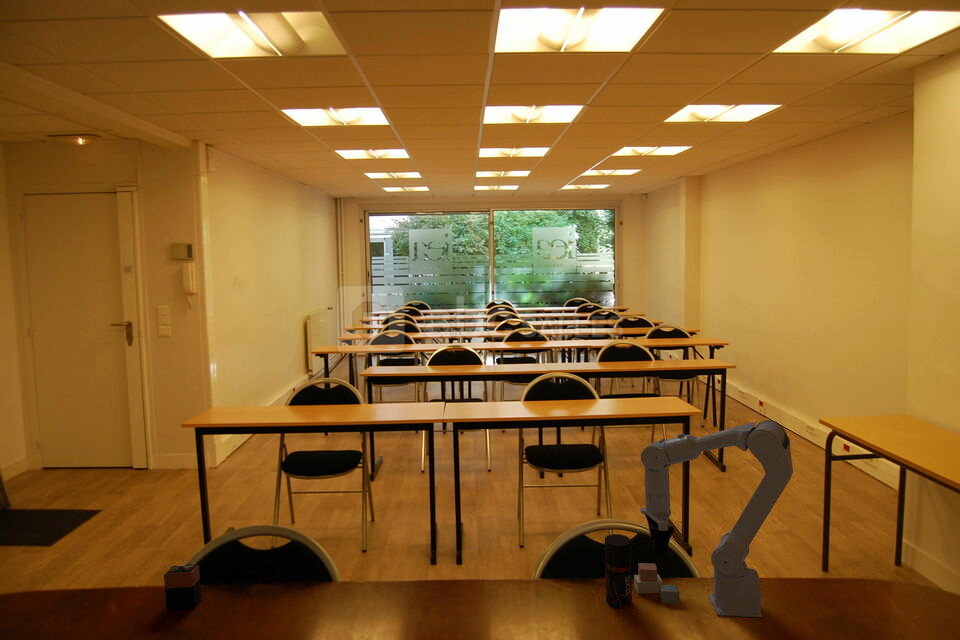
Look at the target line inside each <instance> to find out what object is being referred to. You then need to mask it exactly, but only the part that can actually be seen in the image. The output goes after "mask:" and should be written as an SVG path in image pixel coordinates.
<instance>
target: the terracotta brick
mask: <svg viewBox="0 0 960 640" xmlns="http://www.w3.org/2000/svg"><path fill="white" fill-rule="evenodd" d="M637 567H638V569H637V570H638V575H639V579H640V581H645V582H657V574H658V569H657V565H656V563H649V562H648V563H646V562H644V563H643V562H638V565H637Z"/></svg>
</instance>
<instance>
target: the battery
mask: <svg viewBox="0 0 960 640" xmlns="http://www.w3.org/2000/svg"><path fill="white" fill-rule="evenodd" d="M200 575H201V573H200V566H199V565H198V564H193V563H186V564H184V565H175V564H174V565H172V566H170V568H169V569H168V570H167V571H166V572H165V573H164V574H163V579H164V580H163V581H164V594H165V607H166V608H165V609H166V611H174V610H175V611H177V610H179V611H180V610H191V609H195V608H196V607H197V606H198V604H199V603H200V602H201V600H202V598H203V597H202V587H201V576H200Z"/></svg>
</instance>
